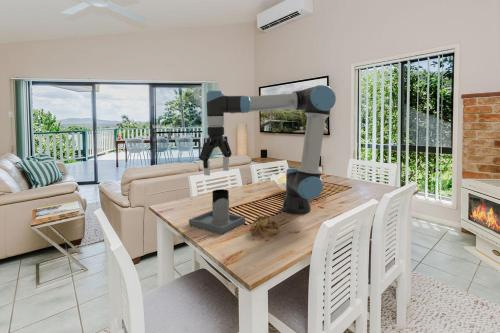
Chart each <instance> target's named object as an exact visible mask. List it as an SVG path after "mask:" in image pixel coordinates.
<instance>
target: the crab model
mask: <svg viewBox="0 0 500 333" xmlns="http://www.w3.org/2000/svg"><path fill="white" fill-rule="evenodd" d="M255 219H256V220H254V221H253V223H252V225H250V228H249V232H252V231H253V234H252V235H253V237H255V235H256V233H257V230H258V231H259V234H260V235H261V236H262V237H263V238H265V235H264V234H263V232H265V233H267V234H271V235H277V234H278V233H280V231H279V230H280V227H279V224H278V222H277V221H276V220H272V219H270V217H269V216H266V215H264V216H263V215H262V216H261V215H260V216H257V217H255ZM269 225H272V227H273V228H266V227H267V226H269Z"/></svg>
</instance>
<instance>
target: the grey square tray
mask: <svg viewBox="0 0 500 333" xmlns="http://www.w3.org/2000/svg"><path fill="white" fill-rule="evenodd" d="M229 219H230V223H229V224H227V225H214V224H212V221H213V211H212V210H209V211H207V212H205V213H202V214H200V215H197V216H194V217H192V218H190V219H188V226H189V225H191V226H190V227H192V226H194V227H193V228H196V227H198V228H197V229H200V228H201V229H200V230H203V229H205V230H204V231H207V230H208V231H207V232H211V231H212V233H214V232H215V234H218V233H219V234H220V235H222V234H223V235H225V234H227V233H229V232H231V231H233V230H235V229H237V228H238V227H240V226H243V225H244V224H246V217H245V216H242V215H236V214H232V213H229ZM236 227H237V228H236ZM234 228H235V229H234ZM232 229H233V230H232ZM230 230H231V231H230ZM228 231H229V232H228ZM226 232H227V233H226ZM224 233H225V234H224ZM219 234H218V235H219Z"/></svg>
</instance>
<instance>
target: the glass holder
mask: <svg viewBox="0 0 500 333" xmlns="http://www.w3.org/2000/svg"><path fill="white" fill-rule="evenodd" d="M211 192H212V194H211V195H212V202H211V203H212V204H211V206H212V209H211V211H213V221H212V224H214V225H227V224H229V223H230V219H229V214H230V200H229V190H228V189H223V188H222V189H214V190H212V191H211Z"/></svg>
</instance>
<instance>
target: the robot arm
mask: <svg viewBox="0 0 500 333" xmlns="http://www.w3.org/2000/svg"><path fill="white" fill-rule="evenodd" d="M205 101H206V122H207V124H206V125H207V128H206V130H207V136H208V137H204V138H203V144H202V148H201V152H200V154H199V158H198V160H200V161H202V165H203V166H202V167H203V173H204V174H203V176H207V177H208V176H209V177H210V176H211V165H210V164H211V163H210V162H211V161H210V160H209V159H210V157H211V155H212V153H213V151H214V150H215V149H216V148H219V150H220V152H221V153H222V155H223V156H222V166H223V167H222V171H225V172H229V170H230V169H229V168H230V167H229V166H230V165H229V162H230V158H231V156H232V155H233V153H232V151H231V148H230V145H229V142H228V136H226V135H225V127H224V125H225V113H226V114H227V113H228V114H232V115H233V114H245V113H247V114H248V113H251V112H252V113H255V112H264V111H265V112H266V111H278V110H293V111H304V115H305V116H306V125H305V131H304V132H305V133H304V140H303V147H302V154H301V155H302V156H301V163H300V166H299V167H291V168H289V167H288V168H287V170H286V174H285V177H286V179H285V184H286V185H285V198H284V200H283V204H282V210H283V212H286V213H289V214H296V215H300V214H301V215H302V214H303V215H304V214H307V213H310V212H311V211H312V209H311V208H312V207H311V203H310V200H314V199H317V198H318V197H319V196H320V195H321V194H322V192H323V189H324V184H323V181H322V180H321V175H322V172H321V170H320V169H319V167H320V166H319V165H320V159H321V154H322V146H323V139H324V133H325V132H324V131H325V126H326V125H325V124H326V120H327V119H328V117H330V115H331V114H330V113H331V109H332V108H334V105H335V104H336V101H337V97H336V92H335V91H334V90H333V88H332V87H330V86H328V85H325V84H322V85H321V84H319V85H315V86H311V87H308V88H304V89H302V90H293V91H292V92H291V93H281V94H278V93H277V94H267V95H266V94H264V95H254V96H253V95H252V96H249V95H224V91H222V90H208V91H207V92H206V100H205Z"/></svg>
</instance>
